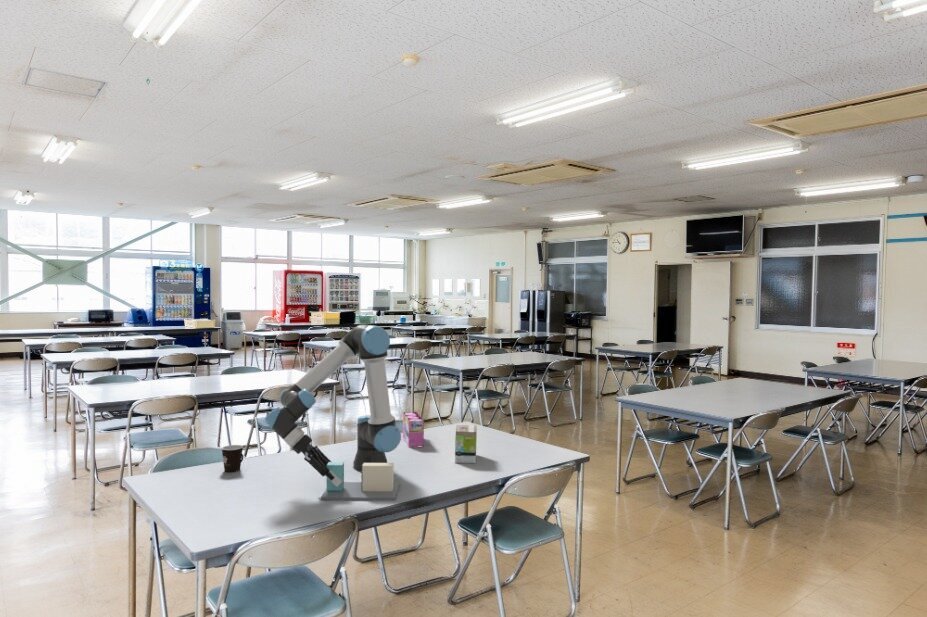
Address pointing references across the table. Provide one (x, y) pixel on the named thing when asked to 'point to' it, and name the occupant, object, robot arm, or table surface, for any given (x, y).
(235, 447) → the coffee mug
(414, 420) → the pink drink carton pack
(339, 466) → the stub
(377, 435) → the robot arm
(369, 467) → the ticket stand
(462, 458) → the tea box
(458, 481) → the table surface
